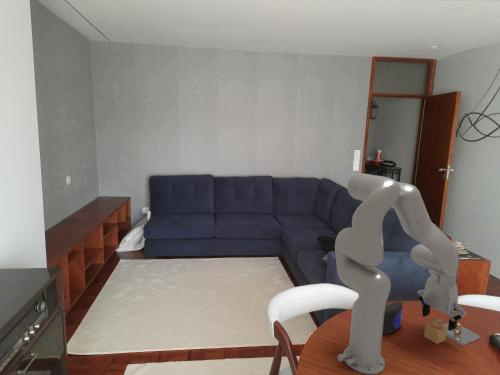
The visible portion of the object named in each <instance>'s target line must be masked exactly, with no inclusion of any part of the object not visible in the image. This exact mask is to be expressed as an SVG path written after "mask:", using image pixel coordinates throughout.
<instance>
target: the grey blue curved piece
mask: <svg viewBox="0 0 500 375" xmlns="http://www.w3.org/2000/svg"><path fill="white" fill-rule="evenodd" d="M403 306H404V303H403V302H402V301H401V300H396V301H393V302H391V303H389V304H386V306H385V313H384V323H383V333H382V336H383V335H391V334H393V333H395V332H396V331H398V330H399V329H400V327H401V324H402V317H403Z"/></svg>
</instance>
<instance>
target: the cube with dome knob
mask: <svg viewBox="0 0 500 375" xmlns="http://www.w3.org/2000/svg"><path fill="white" fill-rule="evenodd" d="M423 331H424V332H423V336H424V338H426V339H428V340H430V341H431V342H433V343H435V345H438V344H441V343H443V342H446V340H447V337H446V335H447V327H445V326H444V322H443V320H441V319H439V318H436V317H431V318H430V321H429V322H426V323H424V330H423Z"/></svg>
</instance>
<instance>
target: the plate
mask: <svg viewBox="0 0 500 375" xmlns="http://www.w3.org/2000/svg"><path fill="white" fill-rule="evenodd" d="M443 325H444V326H445V327H447V335H446V338H448V339H450V340H452V341H453V342H455V343H457V344H458V345H461V346H463V347H464V346H466V345H469V344H471V343H473V342H475V341H477V340H480V337H481V335H479V334H477V333H475V332H473V331H472V330H470V329H468V328H466V327H464V326H463V324H462V323H461V321H460V322H459V321H457V326H456V329H454V330H451V331H449V330H448V325H449V322H447V323H443Z"/></svg>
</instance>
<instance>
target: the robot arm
mask: <svg viewBox="0 0 500 375" xmlns="http://www.w3.org/2000/svg"><path fill="white" fill-rule="evenodd" d="M346 188H347V192H348V194H349V196H351V197H352V198H353V199H355V200H358V201H362V202H361V203H360V204H359V206H358V207H357V208H356V210H355V211H354V212H353V214H352V219H351V227H345V228H343V229H341V230H340V231H339V232H338V234H337V235H336V238H335V241H334V242H335V243H334V251H335V252H334V253H335V260H336V261H335V262H336V263H335V264H336V272H337V275H338V278H339V280H340V281H341V282H342V284H344V285H345V286H347V287H348V288H350V289H351V290H353V291H354V292H355V293H357V294H358V297H357V299H356V300H355V301H354V302H353V304H352V306H351V307H352V308H351V318H350V319H351V320H350V331H349V332H350V333H349V343H348V346H346V348H345V349H344V350H343V353H340V354H338V355H337V357H336V358H337V360H338V362H340V363H342V362H343V361H344V362H345V364H346V365H347V366H349V368H351V370H352V369H353V370H354V371H356V372H358V373H361V374H365V375H377V374H380V373H382V372H383V371H384V369H385V366H386V365H385V364H386V362H385V359H384V358H383V356H382V355H381V353H382V352H381V350H382V344H383V343H382V342H383V335H382V333H383V323H384V313H385V306H386V305H387V301H388V299H389V296H390V293H391V288H392V284H391V283H392V282H391V279H390V278H389V276H388V275H387V274H386V273H385V272H383V271H382V270H380V269H379V268H377V267H378V266H380V265H381V263H382V262H383V260H384V251H385V250H384V238H383V237H384V236H383V235H384V233H383V221H384V219H385V216H386V214H387V213H388V211H390V209H391V208H392V209H394V210H395V213H396V215H397V218H398V220H399V224H400V225H401V227H402V229H403V232H405V233H406V234H407V235H408V236H409V237H411V239H413V240H415V241H417V242H418V243H420V244H416V245H414V246H413V248H412V249H411V251H410V258H411V260H412V261H413V262H414V263H415V264H417V265H419V266H421V267H423V268H425V269H427V270H428V271H427V273H429V274H430V276H428V277H427V280H426V283H425V286H424V289H419V290H418V291H417V295H418V299H419V301H420V302H421V303H420V304H421V306H422V310H421V312H422V317H423V318H424V317H427V316H430V312H431V308H434V309H435V310H437V311H438V312H441V313H443V314H446V315H448V316H449V318H450V319H448V323H449V325H448V330H449V331H451V330H454V329H456V326H457V322H458V320H461V319H463V318H464V317H465V316H466V315H467V311H466V310H465V309H464V308H463V307H461V306H462V305H460V304H459V294H458V293H459V292H458V290H459V289H458V285H457V284H456V280H457V279H456V278H457V272H458V271H457V270H458V268H459V255H460V250H459V247H458V246H457V245H455V244H453V242H452V241H451V239H450V238H449V237H448V236H447V235H446V234H445V233H444V232H443V231H442V230H441V228H439V227H438V226H437V225H436V224H435V223H433V222H432V220H431V218H430V215H429V213H428V211H427V208H426V205H425V202H424V200H423V198H422V194H421V192H420V190H419V189H418V187H416V186H415V185H413V184H411V183H406V182H400V181H397V180H395V179H393V178H391V177H388V176H381V175H374V174H369V173H361V172H358V173H356V174H354V175H352V176H351V177H350V178H349V179H348V182H347V186H346ZM457 312H458V313H457Z"/></svg>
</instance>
